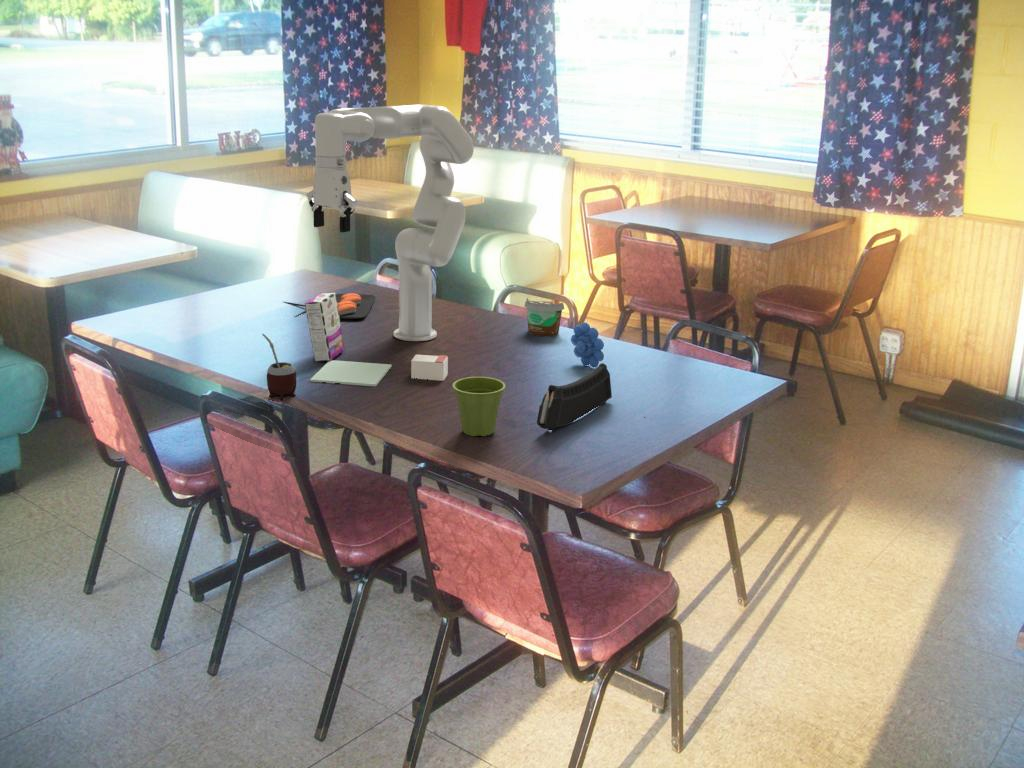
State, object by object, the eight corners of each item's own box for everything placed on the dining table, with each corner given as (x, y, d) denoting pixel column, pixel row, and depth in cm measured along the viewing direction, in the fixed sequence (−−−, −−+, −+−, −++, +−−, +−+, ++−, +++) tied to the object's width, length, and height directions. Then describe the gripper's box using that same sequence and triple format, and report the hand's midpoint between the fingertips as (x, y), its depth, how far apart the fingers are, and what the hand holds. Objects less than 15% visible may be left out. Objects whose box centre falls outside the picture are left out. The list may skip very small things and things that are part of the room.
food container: (517, 334, 325) (518, 301, 322) (524, 329, 330) (526, 297, 327) (556, 339, 321) (557, 306, 318) (563, 334, 326) (564, 302, 323)
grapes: (559, 363, 298) (561, 321, 294) (576, 359, 303) (578, 317, 299) (591, 374, 290) (594, 330, 286) (608, 369, 295) (610, 326, 291)
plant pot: (461, 419, 254) (462, 374, 251) (510, 426, 251) (512, 380, 247) (444, 437, 243) (444, 389, 240) (494, 444, 240) (496, 396, 237)
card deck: (416, 372, 287) (416, 353, 286) (447, 374, 286) (447, 355, 285) (411, 378, 282) (411, 359, 280) (443, 381, 281) (443, 361, 279)
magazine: (606, 363, 270) (548, 356, 244) (618, 365, 268) (561, 358, 243) (593, 430, 271) (534, 430, 245) (605, 433, 270) (546, 433, 244)
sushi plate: (364, 323, 333) (364, 311, 331) (266, 320, 333) (266, 308, 332) (377, 300, 360) (377, 289, 359) (286, 297, 360) (286, 286, 359)
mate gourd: (296, 401, 263) (294, 341, 258) (263, 401, 261) (260, 342, 257) (297, 391, 270) (295, 332, 265) (264, 391, 268) (262, 333, 264)
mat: (330, 362, 293) (330, 360, 293) (391, 366, 291) (391, 364, 291) (310, 381, 277) (310, 379, 277) (375, 386, 275) (375, 384, 275)
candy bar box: (328, 350, 303) (319, 293, 298) (345, 350, 302) (336, 292, 297) (313, 361, 292) (303, 302, 288) (330, 361, 291) (321, 301, 287)
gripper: (365, 165, 277) (365, 232, 282) (318, 158, 286) (319, 223, 292) (343, 167, 271) (344, 235, 276) (296, 160, 281) (298, 226, 286)
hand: (331, 229), depth 284 cm, fingers open, 9 cm apart
